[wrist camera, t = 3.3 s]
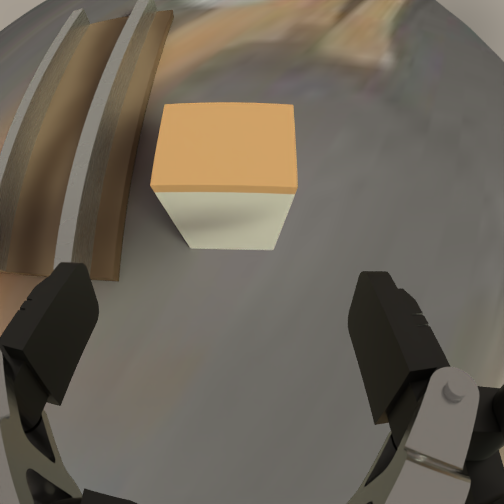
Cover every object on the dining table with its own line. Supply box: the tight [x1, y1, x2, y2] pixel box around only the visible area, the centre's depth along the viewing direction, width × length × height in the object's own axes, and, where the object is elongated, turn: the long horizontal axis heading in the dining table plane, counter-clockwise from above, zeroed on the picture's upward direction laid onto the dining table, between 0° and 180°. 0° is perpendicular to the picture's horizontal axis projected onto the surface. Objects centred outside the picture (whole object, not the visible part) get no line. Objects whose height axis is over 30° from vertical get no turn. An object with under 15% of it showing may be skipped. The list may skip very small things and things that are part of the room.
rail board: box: [0, 0, 174, 281], centre depth 20 cm, size 12×26×4 cm, turn 179°
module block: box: [150, 103, 298, 250], centre depth 15 cm, size 5×4×9 cm
